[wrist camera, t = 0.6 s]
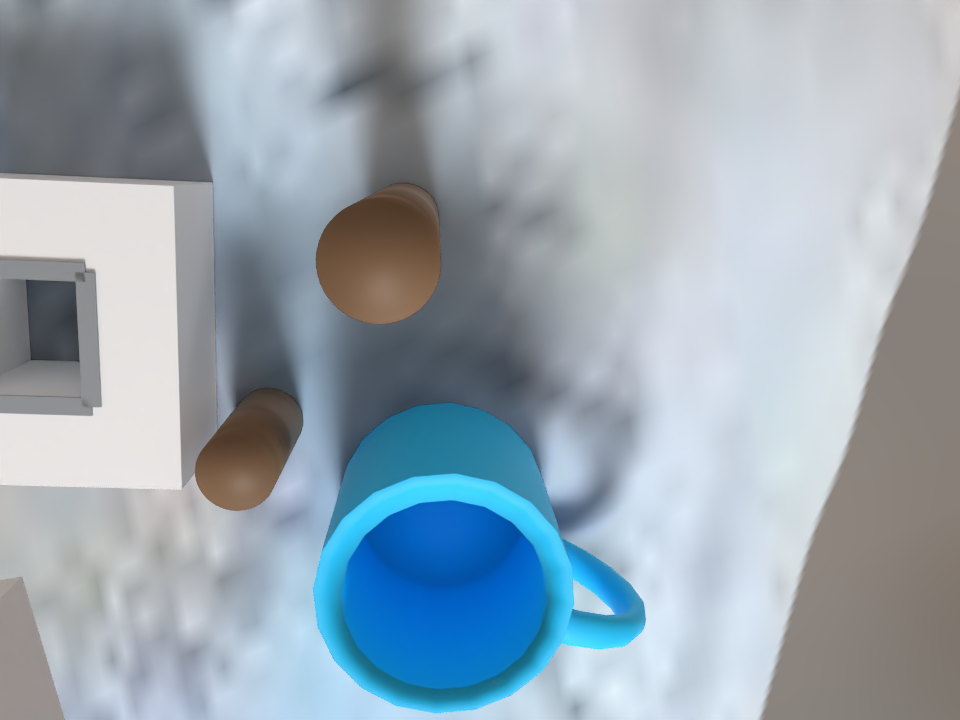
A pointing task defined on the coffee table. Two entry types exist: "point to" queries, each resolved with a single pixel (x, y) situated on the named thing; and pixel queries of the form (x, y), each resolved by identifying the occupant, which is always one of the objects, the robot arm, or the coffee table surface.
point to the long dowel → (382, 255)
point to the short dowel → (249, 450)
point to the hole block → (109, 331)
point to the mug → (455, 566)
